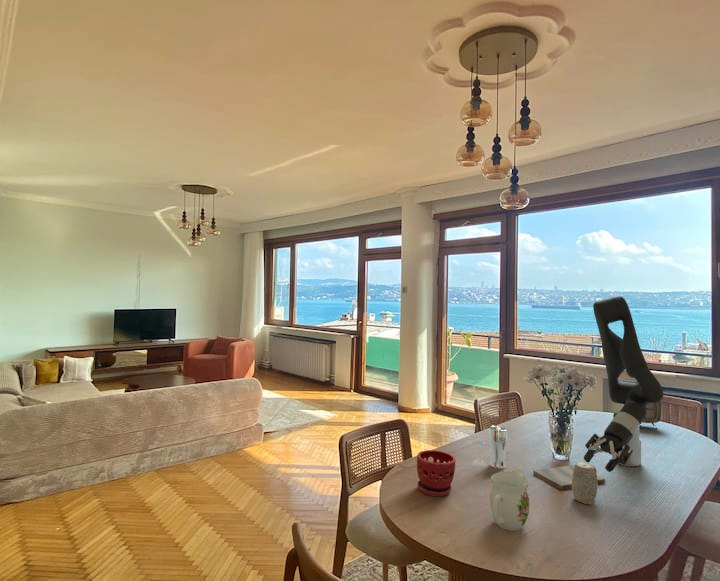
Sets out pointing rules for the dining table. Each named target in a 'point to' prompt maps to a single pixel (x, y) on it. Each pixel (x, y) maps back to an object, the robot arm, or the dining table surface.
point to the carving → (584, 483)
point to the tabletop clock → (652, 413)
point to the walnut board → (560, 476)
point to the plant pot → (435, 472)
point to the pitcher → (509, 499)
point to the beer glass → (498, 446)
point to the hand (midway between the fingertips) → (596, 465)
